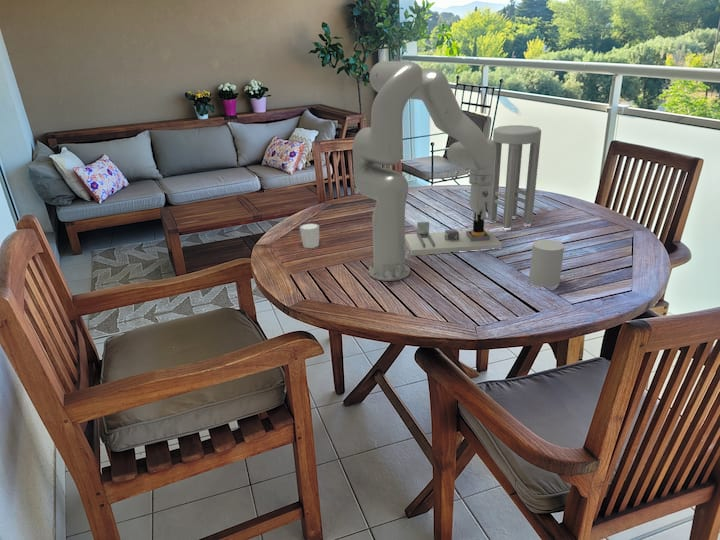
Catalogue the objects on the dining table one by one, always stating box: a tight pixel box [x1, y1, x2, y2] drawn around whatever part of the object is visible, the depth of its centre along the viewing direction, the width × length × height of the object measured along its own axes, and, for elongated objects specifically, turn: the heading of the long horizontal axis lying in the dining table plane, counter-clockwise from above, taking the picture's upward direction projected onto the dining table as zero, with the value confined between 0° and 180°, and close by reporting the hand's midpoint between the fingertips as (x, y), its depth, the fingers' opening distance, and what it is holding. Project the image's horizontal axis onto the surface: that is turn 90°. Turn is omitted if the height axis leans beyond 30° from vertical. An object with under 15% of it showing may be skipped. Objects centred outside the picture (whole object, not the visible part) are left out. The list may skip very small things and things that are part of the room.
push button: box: [471, 229, 485, 237], centre depth 176 cm, size 4×4×2 cm
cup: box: [528, 239, 565, 287], centre depth 144 cm, size 8×8×12 cm
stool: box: [487, 124, 542, 228], centre depth 186 cm, size 16×16×35 cm
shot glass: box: [299, 223, 320, 249], centre depth 180 cm, size 7×7×7 cm
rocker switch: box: [444, 229, 459, 237], centre depth 175 cm, size 6×3×2 cm, turn 5°
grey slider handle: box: [416, 221, 430, 238], centre depth 179 cm, size 3×4×5 cm
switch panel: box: [405, 228, 503, 257], centre depth 176 cm, size 15×30×4 cm, turn 95°
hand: (478, 231), depth 176 cm, fingers closed
